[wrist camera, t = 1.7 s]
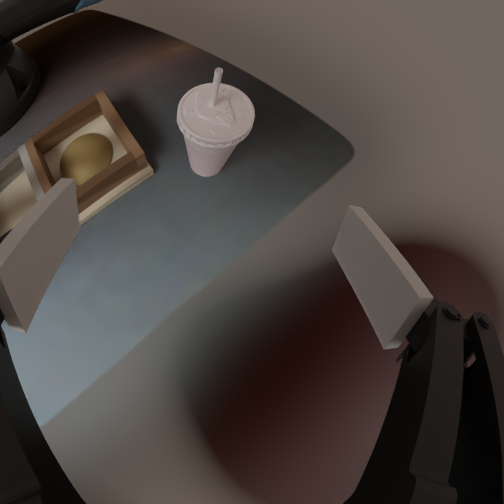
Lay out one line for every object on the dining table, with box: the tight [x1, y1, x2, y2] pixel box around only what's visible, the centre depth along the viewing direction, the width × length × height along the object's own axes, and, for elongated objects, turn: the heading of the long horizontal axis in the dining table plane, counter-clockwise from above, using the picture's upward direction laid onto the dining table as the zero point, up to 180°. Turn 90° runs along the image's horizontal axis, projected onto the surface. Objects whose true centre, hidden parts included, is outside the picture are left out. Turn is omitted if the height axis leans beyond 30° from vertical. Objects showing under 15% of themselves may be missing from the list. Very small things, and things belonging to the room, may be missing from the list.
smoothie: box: [177, 68, 255, 177], centre depth 24 cm, size 6×6×14 cm
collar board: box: [0, 90, 154, 237], centre depth 24 cm, size 12×21×4 cm, turn 128°
